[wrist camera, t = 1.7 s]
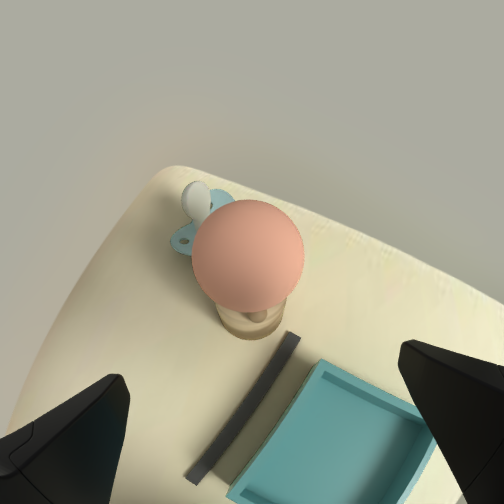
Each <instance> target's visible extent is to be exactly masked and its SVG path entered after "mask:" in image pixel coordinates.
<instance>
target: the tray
mask: <svg viewBox="0 0 504 504" xmlns="http://www.w3.org/2000/svg"><path fill="white" fill-rule="evenodd" d="M436 445H437V443H436V441H435V439H434V437H433V435H432V433H431V432H430V430H429V428H428V426H427V425H426V423H425V421H424V419H423V418H422V416H421V414H420V412H419V411H418V409H417V407H416V406H414V405H412V404H410V403H408V402H405V401H403V400H401V399H399V398H397V397H395V396H393V395H391V394H389V393H387V392H385V391H383V390H381V389H379V388H377V387H375V386H373V385H371V384H369V383H367V382H365V381H363V380H361V379H359V378H357V377H355V376H353V375H351V374H349V373H348V372H346V371H344V370H342V369H340V368H338V367H336V366H334V365H333V364H331V363H329V362H327V361H325V360H323V359H320V360H319V361H318V362H317V363H316V364H315V365H314V366H313V367H312V369H311V370H310V372H309V374H308V375H307V377H306V379H305V380H304V382H303V384H302V385H301V387H300V389H299V390H298V392H297V393H296V395H295V396H294V398H293V400H292V401H291V403H290V404H289V406H288V407H287V409H286V410H285V412H284V413H283V415H282V416H281V418H280V419H279V421H278V422H277V424H276V425H275V427H274V428H273V430H272V431H271V432H270V434H269V435H268V437H267V438H266V439H265V441H264V442H263V444H262V445H261V446H260V448H259V449H258V451H257V452H256V453H255V455H254V456H253V457H252V459H251V460H250V461H249V462H248V464H247V465H246V466H245V468H244V469H243V470H242V472H241V473H240V474H239V475H238V477H237V478H236V479H235V480H234V482H233V483H232V484H231V485H230V487H229V489H228V492H227V494H226V497H227V498H228V499H230V500H232V501H234V502H236V503H238V504H404V502H405V501H406V499H407V498H408V496H409V494H410V493H411V491H412V489H413V488H414V486H415V484H416V483H417V481H418V479H419V477H420V476H421V474H422V472H423V470H424V468H425V467H426V465H427V463H428V461H429V459H430V457H431V455H432V453H433V451H434V449H435V447H436Z"/></svg>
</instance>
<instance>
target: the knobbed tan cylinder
mask: <svg viewBox="0 0 504 504" xmlns="http://www.w3.org/2000/svg"><path fill="white" fill-rule="evenodd" d="M286 299H287V297H286V298H285V299H284V300H283V301H282V302H280V303H279V304H277V305H275V306H274V307H271V308H269V309H266V310H263V311H259V312H246V313H245V312H238V311H233V310H230V309H227V308H225V307H223V306H221V305H219V304H217V303H216V302H215V301H214V302H215V305H216V308H217V310H218V313H219V316H220V319H221V321H222V323H223V325H224V327H225V328H226V329H227V330H228V331H229V332H230V333H231V334H232V335H234V336H236V337H238V338H240V339H244V340H258V339H262V338H264V337H267V336H268V335H270V334H271V333H272V332H274V331H275V330H276V328H277V327H278V326H279V324H280V322H281V319H282V316H283V312H284V307H285V303H286Z"/></svg>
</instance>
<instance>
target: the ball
mask: <svg viewBox="0 0 504 504" xmlns="http://www.w3.org/2000/svg"><path fill="white" fill-rule="evenodd" d="M192 266H193V271H194V274H195V277H196V279H197V281H198V283H199V285H200V286H201V288H202V289H203V291H204V292H205V293H206V294H207V295H208V296H209V297H210V298H211V299H212V300H213V301H215V302H216V303H217V304H219V305H221V306H223V307H225V308H227V309H230V310H233V311H238V312H245V313H246V312H259V311H263V310H266V309H269V308H271V307H274V306H275V305H277V304H279V303H280V302H282V301H283V300H284V299H285V298H286V297H287V296H288V295H289V294H290V293H291V292H292V291H293V289H294V288H295V287H296V285H297V283H298V281H299V279H300V277H301V274H302V271H303V266H304V247H303V242H302V238H301V236H300V233H299V231H298V229H297V227H296V226H295V224H294V223H293V222H292V220H291V219H290V218H289V217H288V216H287V215H286V214H285V213H284V212H282V211H281V210H280V209H278V208H277V207H275V206H273V205H271V204H268V203H265V202H262V201H257V200H239V201H234V202H231V203H228V204H225V205H223V206H221V207H219V208H218V209H216V210H215V211H214V212H212V213H211V214H210V215H209V216H208V217H207V218H206V219H205V220H204V221H203V223H202V224H201V226H200V228H199V229H198V231H197V233H196V235H195V238H194V242H193V246H192Z"/></svg>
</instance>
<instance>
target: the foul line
mask: <svg viewBox="0 0 504 504" xmlns="http://www.w3.org/2000/svg"><path fill="white" fill-rule="evenodd" d="M300 339H301V337H299V336H297V335H295V334H293V333H292V332H289V334H288V335H287V337H286V338H285V340H284V342H283V343H282V345H281V346H280V348H279V349H278V351H277V353H276V354H275V356H274V357H273V359H272V360H271V362H270V363H269V365H268V366H267V368H266V369H265V371H264V372H263V374H262V375H261V377H260V378H259V380H258V381H257V383H256V384H255V386H254V387H253V389H252V390H251V391H250V393H249V394H248V396H247V397H246V399H245V400H244V401H243V403H242V404H241V406H240V407H239V409H238V410H237V411H236V413H235V414H234V415H233V417H232V418H231V420H230V421H229V422H228V424H227V425H226V426H225V428H224V429H223V430H222V432H221V433H220V434H219V436H218V437H217V438H216V440H215V441H214V442H213V444H212V445H211V446H210V448H209V449H208V450H207V451H206V453H205V454H204V455H203V457H202V458H201V459H200V460H199V462H198V463H197V464H196V465H195V467H194V468H193V469H192V470H191V471H190V473H189V474H188V475H187V476H186V479H187V480H189V481H190V482H192V483H193V484H195V485H196V486H197V485H198V483H199V482H200V481H201V480H202V479H203V477H204V476H205V475H206V474H207V473H208V471H209V470H210V469H211V468H212V466H213V465H214V464H215V463H216V461H217V460H218V459H219V457H220V456H221V455H222V454H223V452H224V451H225V450H226V448H227V447H228V446H229V444H230V443H231V442H232V440H233V439H234V438H235V436H236V435H237V434H238V432H239V431H240V430H241V428H242V427H243V425H244V424H245V423H246V421H247V420H248V418H249V417H250V416H251V414H252V413H253V411H254V410H255V409H256V407H257V406H258V404H259V403H260V401H261V400H262V398H263V397H264V395H265V394H266V392H267V391H268V389H269V388H270V386H271V385H272V383H273V382H274V380H275V379H276V377H277V376H278V374H279V373H280V371H281V370H282V368H283V366H284V365H285V363H286V362H287V360H288V359H289V357H290V355H291V354H292V352H293V351H294V349H295V347H296V346H297V344H298V342H299V341H300Z"/></svg>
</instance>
